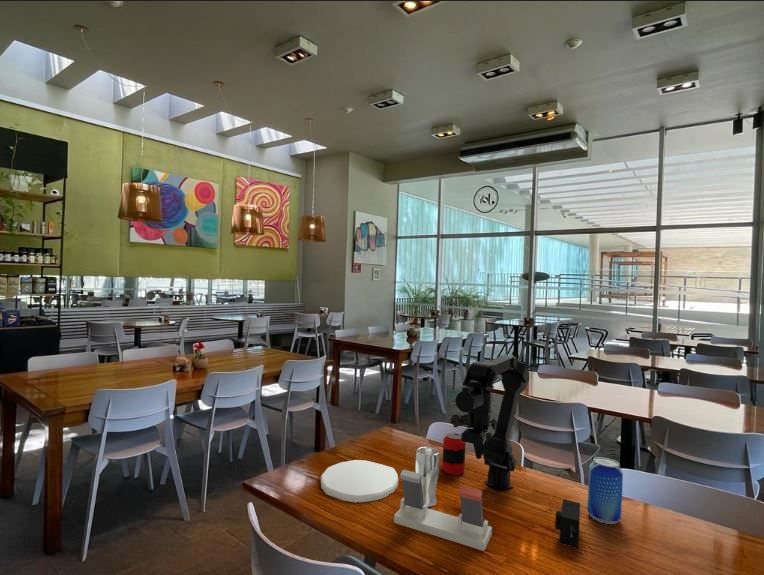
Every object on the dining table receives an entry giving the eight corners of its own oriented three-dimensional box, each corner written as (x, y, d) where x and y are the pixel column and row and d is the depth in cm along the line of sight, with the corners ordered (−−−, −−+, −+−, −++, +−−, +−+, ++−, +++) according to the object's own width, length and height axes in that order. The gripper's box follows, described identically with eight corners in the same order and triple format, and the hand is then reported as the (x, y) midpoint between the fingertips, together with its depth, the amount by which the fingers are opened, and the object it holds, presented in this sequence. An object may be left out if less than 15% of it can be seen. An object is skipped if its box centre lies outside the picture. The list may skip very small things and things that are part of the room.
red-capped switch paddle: (464, 517, 111) (460, 485, 107) (484, 523, 109) (481, 490, 105) (461, 524, 110) (458, 491, 106) (482, 530, 107) (479, 497, 103)
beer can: (617, 514, 124) (620, 458, 124) (623, 529, 116) (626, 469, 116) (585, 508, 127) (587, 453, 127) (589, 522, 119) (591, 464, 119)
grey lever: (407, 501, 118) (403, 469, 115) (424, 506, 116) (421, 474, 113) (404, 507, 117) (400, 474, 113) (422, 512, 114) (418, 479, 111)
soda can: (467, 469, 150) (469, 435, 150) (459, 477, 144) (460, 441, 144) (447, 464, 154) (449, 430, 154) (438, 471, 148) (440, 436, 148)
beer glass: (436, 509, 122) (439, 456, 122) (412, 506, 124) (414, 453, 124) (438, 498, 129) (440, 448, 129) (415, 494, 130) (417, 445, 130)
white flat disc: (348, 449, 154) (411, 466, 142) (347, 461, 154) (410, 478, 142) (303, 475, 132) (374, 497, 120) (303, 488, 132) (373, 512, 120)
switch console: (406, 509, 122) (406, 492, 122) (491, 534, 111) (492, 516, 111) (393, 522, 114) (394, 504, 114) (484, 551, 104) (485, 531, 104)
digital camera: (557, 522, 118) (558, 497, 118) (579, 528, 116) (580, 502, 116) (554, 542, 109) (555, 514, 109) (578, 548, 106) (579, 520, 106)
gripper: (463, 395, 139) (461, 443, 139) (444, 408, 123) (442, 463, 123) (498, 400, 134) (495, 450, 134) (483, 415, 118) (481, 472, 118)
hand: (478, 458), depth 127 cm, fingers closed
